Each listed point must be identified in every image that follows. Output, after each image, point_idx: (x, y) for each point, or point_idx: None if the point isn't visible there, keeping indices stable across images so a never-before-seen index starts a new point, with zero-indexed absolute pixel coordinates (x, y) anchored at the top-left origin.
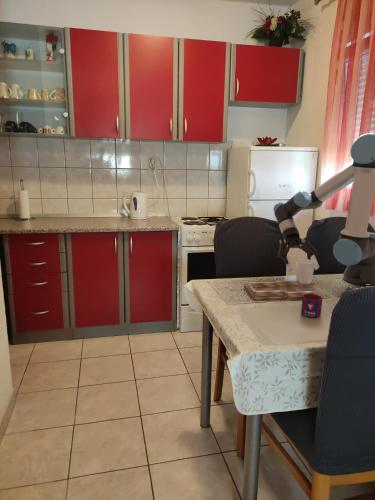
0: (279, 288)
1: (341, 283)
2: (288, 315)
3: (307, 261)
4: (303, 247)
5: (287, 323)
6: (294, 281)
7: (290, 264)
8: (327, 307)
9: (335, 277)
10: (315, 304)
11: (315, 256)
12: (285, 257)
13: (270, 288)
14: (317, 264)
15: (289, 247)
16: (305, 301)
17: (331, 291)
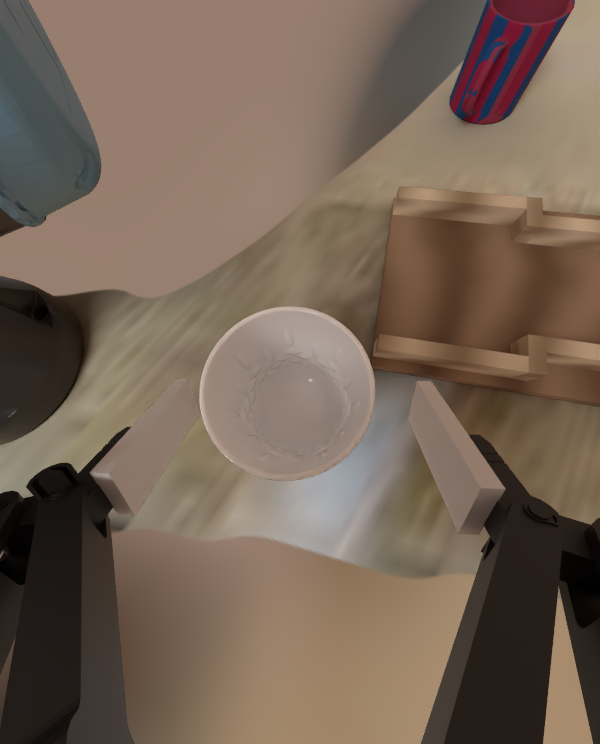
0: (508, 317)
1: (128, 347)
2: (564, 105)
3: (228, 441)
4: (92, 686)
5: (590, 64)
6: (409, 338)
7: (441, 405)
8: (387, 139)
9: (72, 442)
10: (520, 5)
11: (90, 471)
12: (509, 495)
13: (560, 326)
14: (172, 391)
15: (481, 723)
16: (557, 13)
17: (258, 265)
